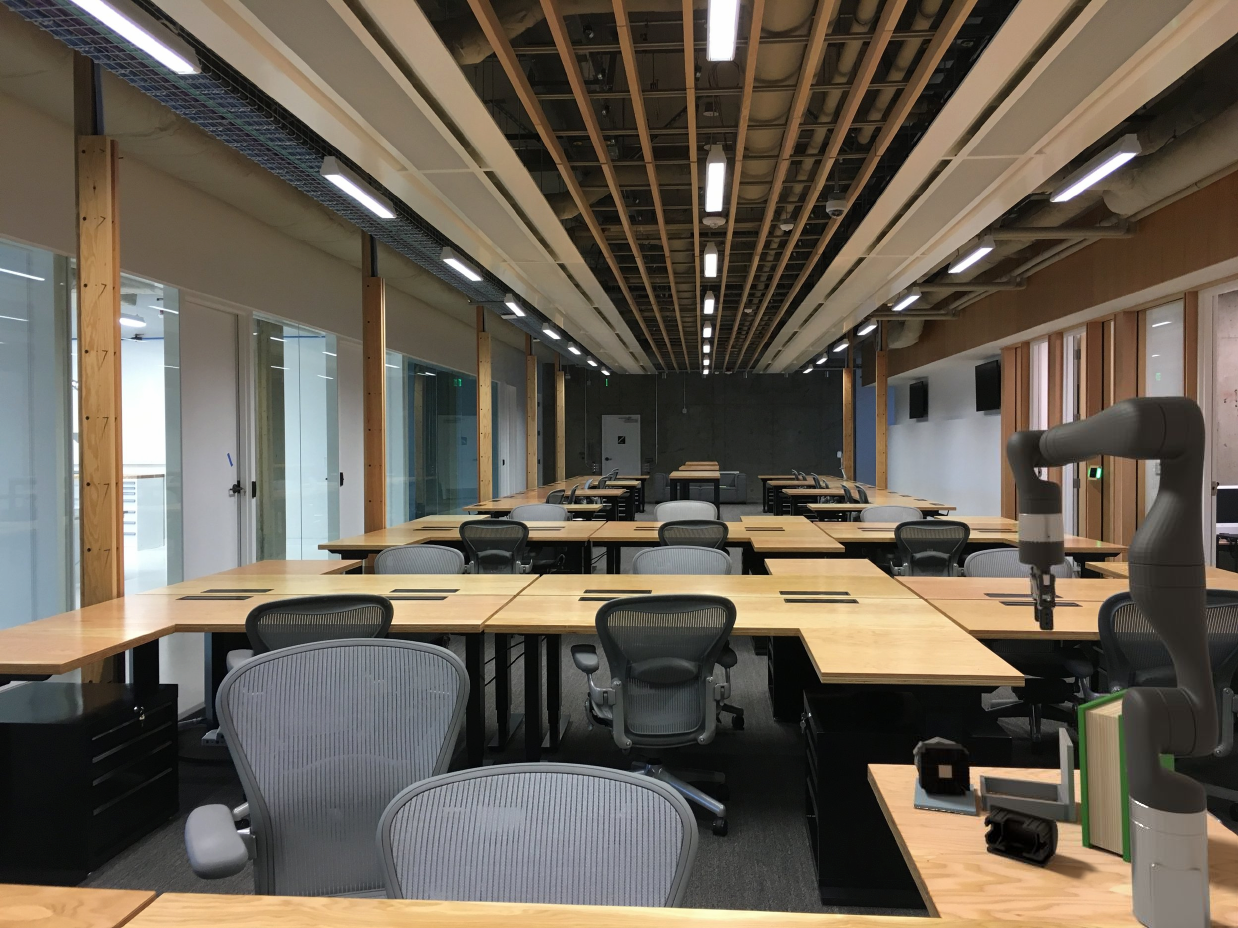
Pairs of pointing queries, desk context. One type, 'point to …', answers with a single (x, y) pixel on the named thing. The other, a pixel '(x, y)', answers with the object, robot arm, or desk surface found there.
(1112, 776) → the hardback book
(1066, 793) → the open rectangular frame
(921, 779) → the cpu cooler
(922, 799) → the rubber mat
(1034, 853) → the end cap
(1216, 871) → the desk surface
